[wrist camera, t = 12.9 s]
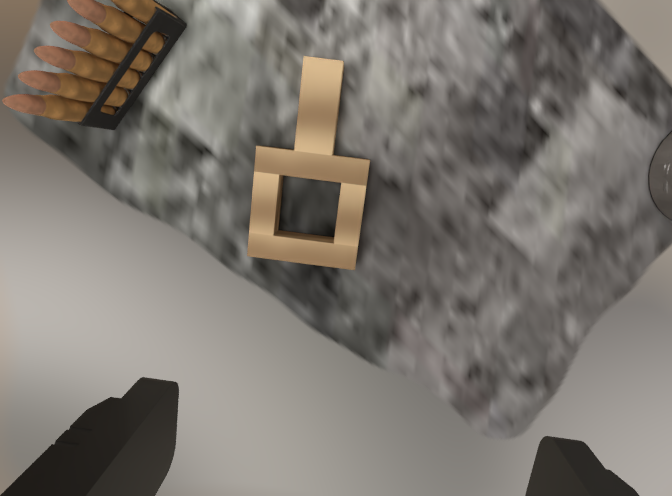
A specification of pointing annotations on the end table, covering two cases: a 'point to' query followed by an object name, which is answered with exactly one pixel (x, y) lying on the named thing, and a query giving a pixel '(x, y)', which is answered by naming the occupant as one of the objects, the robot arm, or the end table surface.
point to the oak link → (310, 177)
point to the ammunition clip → (100, 62)
